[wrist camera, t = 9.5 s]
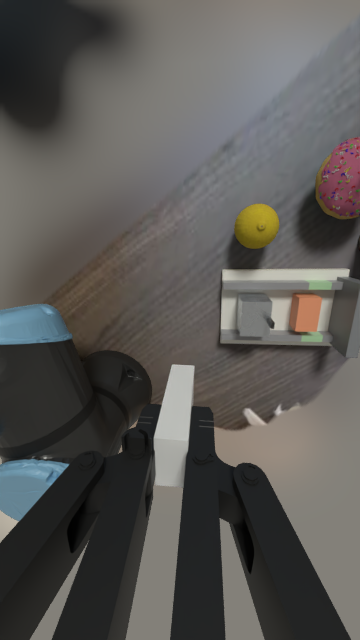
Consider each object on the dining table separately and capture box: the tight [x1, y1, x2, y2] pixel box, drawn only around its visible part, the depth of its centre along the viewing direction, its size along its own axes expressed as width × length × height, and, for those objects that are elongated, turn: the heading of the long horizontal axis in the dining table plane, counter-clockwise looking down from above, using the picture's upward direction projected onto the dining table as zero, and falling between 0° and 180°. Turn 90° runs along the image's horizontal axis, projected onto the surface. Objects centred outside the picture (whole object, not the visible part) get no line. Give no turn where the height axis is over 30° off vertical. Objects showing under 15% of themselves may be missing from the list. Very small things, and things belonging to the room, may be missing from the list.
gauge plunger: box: [236, 294, 275, 337], centre depth 36 cm, size 4×5×7 cm
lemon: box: [234, 204, 279, 249], centre depth 33 cm, size 6×6×8 cm
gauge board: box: [220, 269, 360, 358], centre depth 37 cm, size 18×12×7 cm, turn 91°
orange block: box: [289, 293, 322, 332], centre depth 37 cm, size 3×5×3 cm, turn 1°
